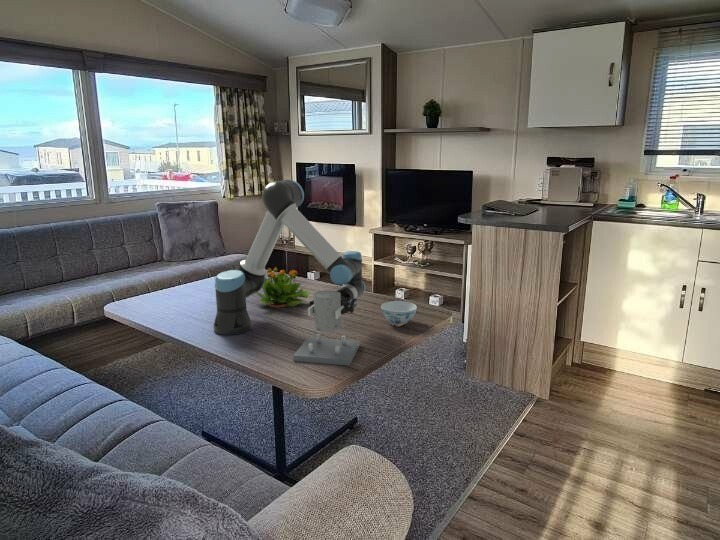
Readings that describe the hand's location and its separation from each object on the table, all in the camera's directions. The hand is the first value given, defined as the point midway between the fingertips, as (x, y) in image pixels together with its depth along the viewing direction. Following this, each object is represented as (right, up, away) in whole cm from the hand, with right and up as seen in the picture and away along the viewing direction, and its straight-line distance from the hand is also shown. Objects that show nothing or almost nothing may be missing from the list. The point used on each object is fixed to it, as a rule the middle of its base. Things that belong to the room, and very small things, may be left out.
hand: (322, 313), depth 171 cm
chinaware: (+29, -8, +39) cm, 49 cm away
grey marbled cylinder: (+2, -6, +6) cm, 8 cm away
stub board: (+1, -15, +8) cm, 17 cm away
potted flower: (-26, -2, +65) cm, 70 cm away
